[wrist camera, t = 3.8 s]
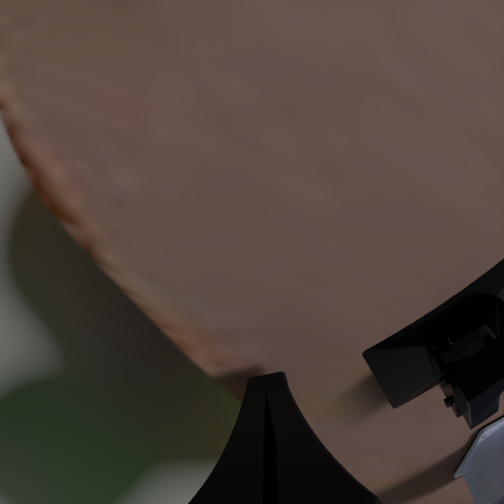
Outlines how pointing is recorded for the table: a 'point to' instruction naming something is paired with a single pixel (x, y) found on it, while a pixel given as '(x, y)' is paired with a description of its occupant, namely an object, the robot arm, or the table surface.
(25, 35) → the table surface
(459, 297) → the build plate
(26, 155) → the table surface
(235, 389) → the table surface
